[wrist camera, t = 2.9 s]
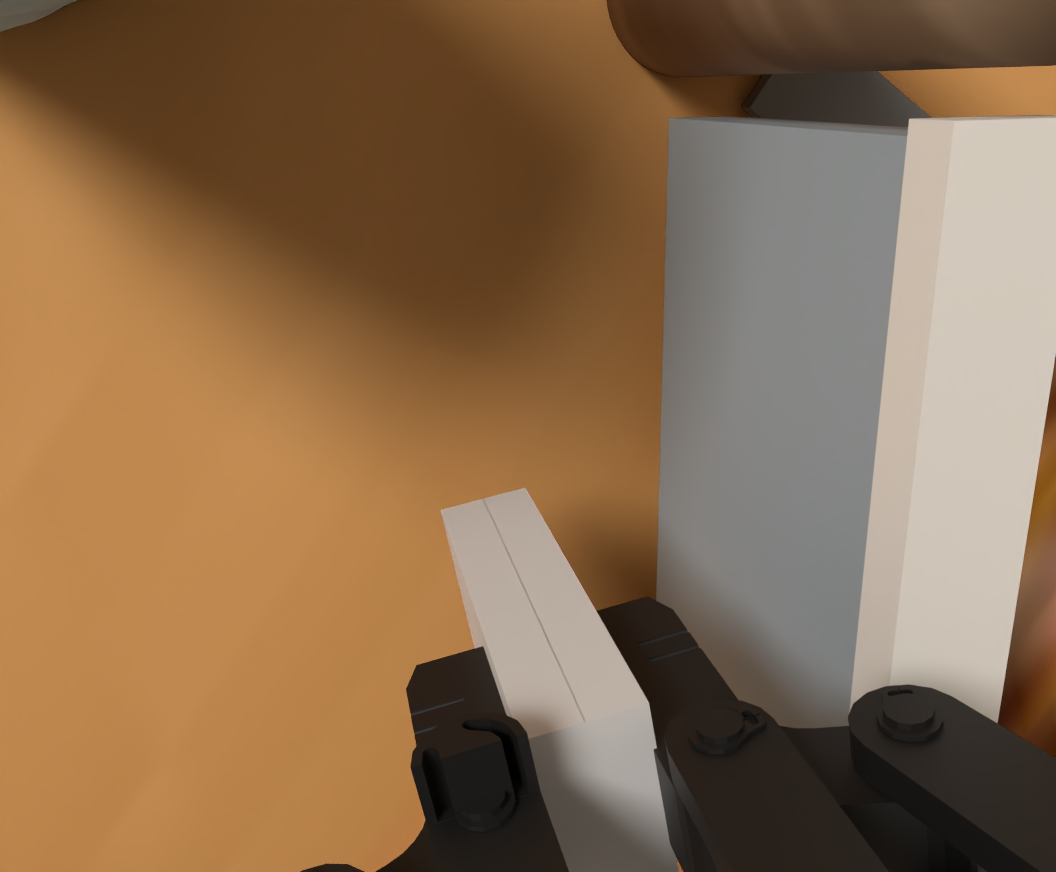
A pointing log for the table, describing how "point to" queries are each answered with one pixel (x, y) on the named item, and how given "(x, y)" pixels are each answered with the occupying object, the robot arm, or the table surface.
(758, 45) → the posts
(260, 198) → the table surface
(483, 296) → the table surface
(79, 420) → the table surface
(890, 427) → the white thick panel
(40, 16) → the cup
